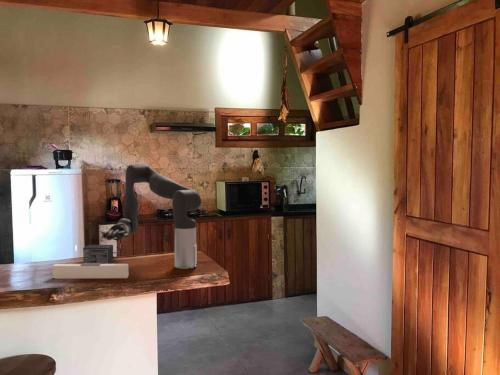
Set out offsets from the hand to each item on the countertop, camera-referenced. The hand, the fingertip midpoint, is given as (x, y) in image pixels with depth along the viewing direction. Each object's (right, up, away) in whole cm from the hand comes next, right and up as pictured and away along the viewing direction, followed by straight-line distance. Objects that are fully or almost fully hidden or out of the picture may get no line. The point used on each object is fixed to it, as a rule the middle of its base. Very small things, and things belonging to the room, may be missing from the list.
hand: (108, 237), depth 175 cm
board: (+1, -13, -22) cm, 25 cm away
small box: (+1, -12, -13) cm, 18 cm away
